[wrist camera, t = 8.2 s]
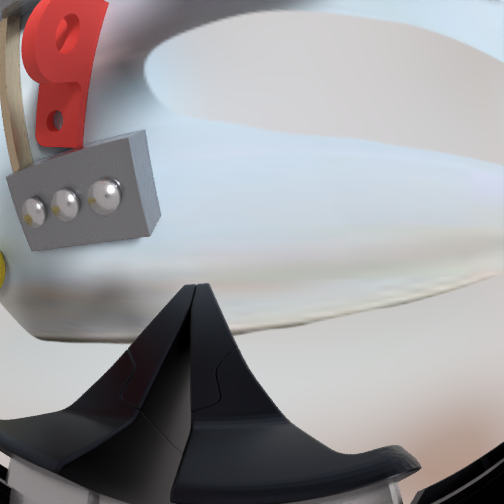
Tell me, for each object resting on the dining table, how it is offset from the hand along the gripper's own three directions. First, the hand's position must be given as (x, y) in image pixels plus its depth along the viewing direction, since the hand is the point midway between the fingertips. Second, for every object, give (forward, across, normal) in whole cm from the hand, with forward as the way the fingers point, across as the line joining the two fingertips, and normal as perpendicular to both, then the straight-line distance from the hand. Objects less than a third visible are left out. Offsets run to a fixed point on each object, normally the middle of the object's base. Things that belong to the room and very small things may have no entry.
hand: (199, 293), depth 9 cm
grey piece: (+13, +11, -12) cm, 21 cm away
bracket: (+13, +11, -11) cm, 20 cm away
